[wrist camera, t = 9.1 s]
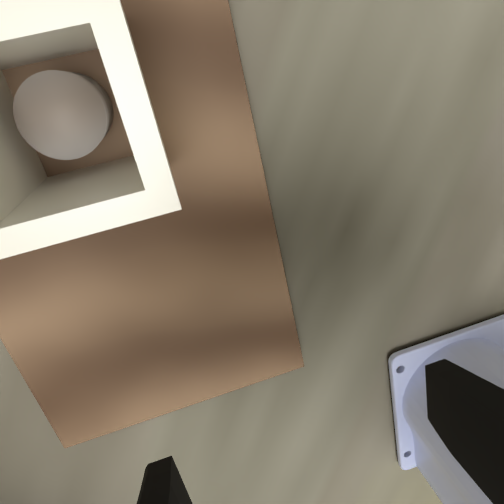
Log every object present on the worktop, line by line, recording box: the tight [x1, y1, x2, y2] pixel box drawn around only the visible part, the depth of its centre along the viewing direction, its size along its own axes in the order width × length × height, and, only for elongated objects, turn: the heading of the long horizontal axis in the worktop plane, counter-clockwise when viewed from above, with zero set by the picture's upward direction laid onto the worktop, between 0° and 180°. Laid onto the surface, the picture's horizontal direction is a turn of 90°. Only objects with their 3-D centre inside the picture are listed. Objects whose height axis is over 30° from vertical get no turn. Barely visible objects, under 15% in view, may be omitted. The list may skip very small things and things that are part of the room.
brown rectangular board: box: [0, 0, 304, 448], centre depth 16 cm, size 18×12×4 cm, turn 12°
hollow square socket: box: [0, 0, 182, 259], centre depth 12 cm, size 5×5×6 cm
